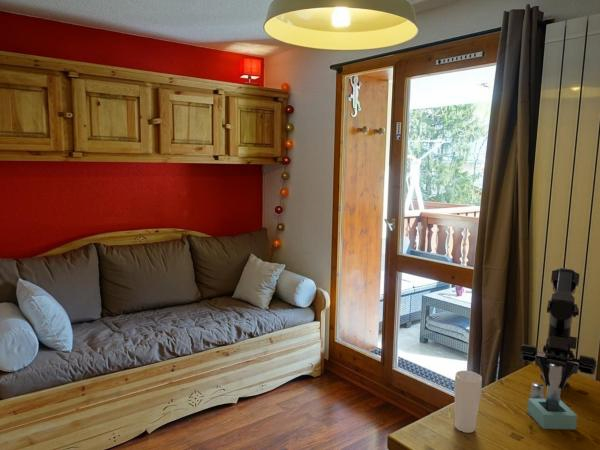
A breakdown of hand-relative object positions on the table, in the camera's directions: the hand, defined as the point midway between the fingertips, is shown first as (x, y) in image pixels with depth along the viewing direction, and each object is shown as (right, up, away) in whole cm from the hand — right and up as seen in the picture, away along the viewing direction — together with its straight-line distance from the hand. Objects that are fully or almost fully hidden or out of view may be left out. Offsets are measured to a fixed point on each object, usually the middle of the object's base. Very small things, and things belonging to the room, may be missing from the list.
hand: (554, 387), depth 130 cm
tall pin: (+1, -7, +2) cm, 7 cm away
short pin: (+2, -9, +14) cm, 17 cm away
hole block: (0, -10, +3) cm, 10 cm away
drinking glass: (-26, -10, -2) cm, 28 cm away
